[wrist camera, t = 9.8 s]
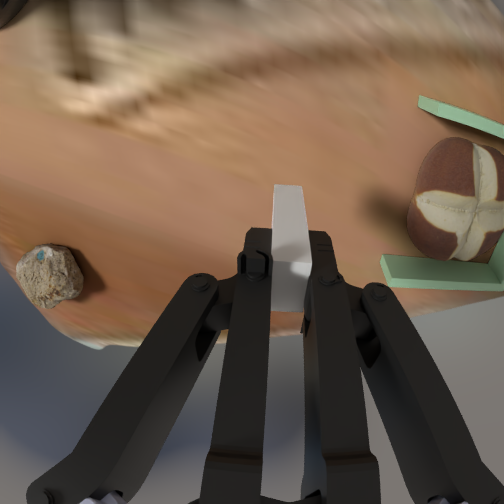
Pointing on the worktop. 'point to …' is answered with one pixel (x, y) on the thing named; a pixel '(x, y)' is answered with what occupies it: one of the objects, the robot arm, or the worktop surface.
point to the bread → (458, 201)
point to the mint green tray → (449, 272)
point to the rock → (49, 275)
